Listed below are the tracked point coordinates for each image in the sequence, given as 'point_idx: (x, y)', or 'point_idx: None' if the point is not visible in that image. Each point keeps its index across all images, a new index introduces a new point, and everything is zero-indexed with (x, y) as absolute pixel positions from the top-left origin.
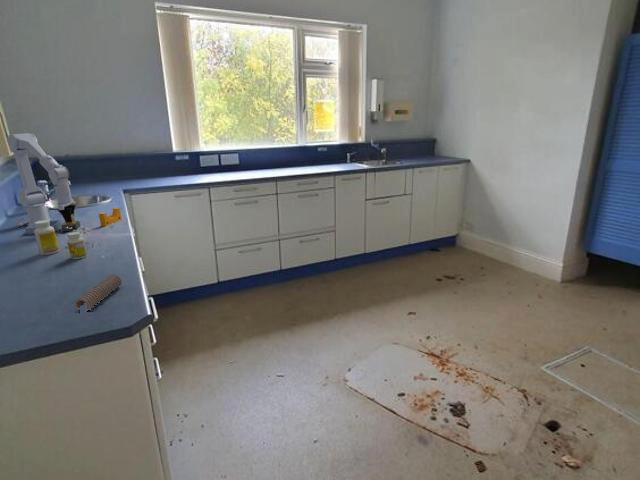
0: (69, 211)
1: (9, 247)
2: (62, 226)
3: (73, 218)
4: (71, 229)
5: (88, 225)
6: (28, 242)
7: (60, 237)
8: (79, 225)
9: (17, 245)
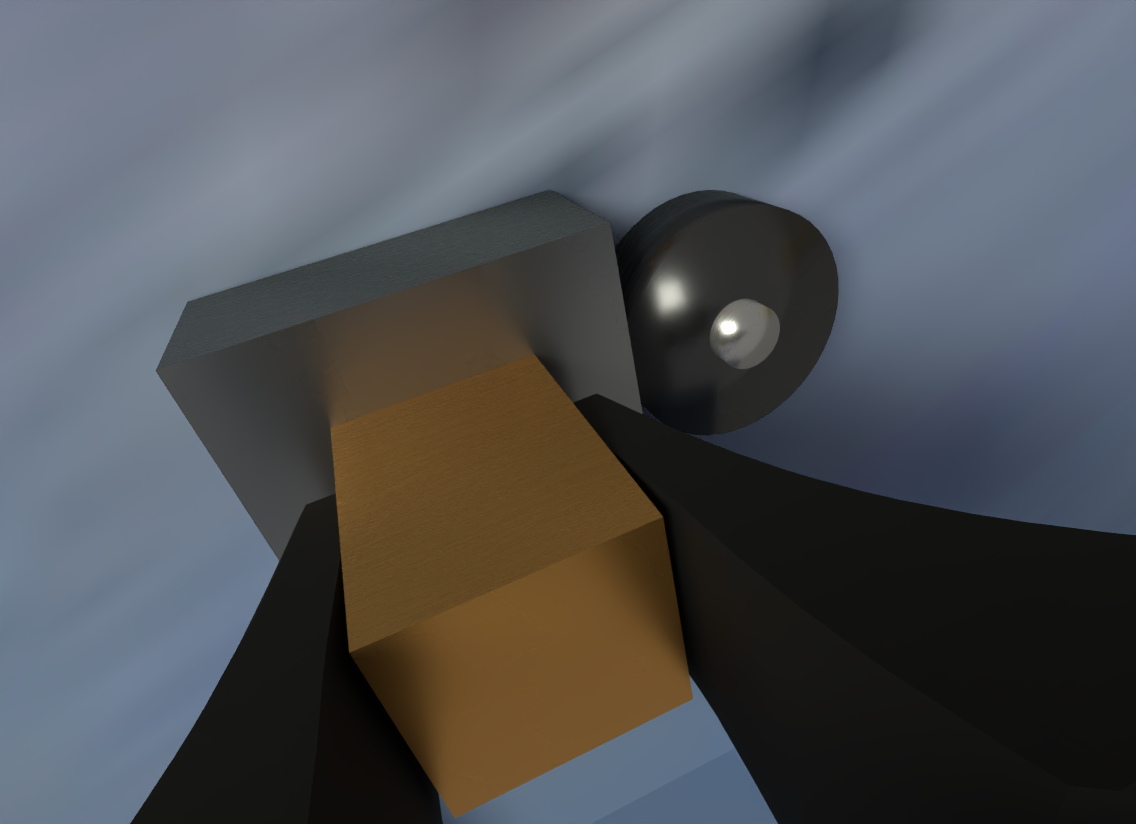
0: (1105, 553)
1: (1132, 524)
2: None
3: (402, 480)
4: (750, 200)
5: (73, 14)
6: (1062, 476)
7: (1048, 172)
8: (265, 285)
9: (1109, 503)
